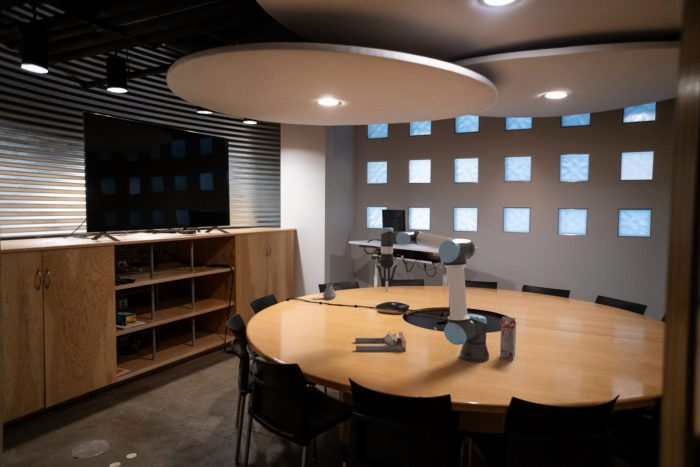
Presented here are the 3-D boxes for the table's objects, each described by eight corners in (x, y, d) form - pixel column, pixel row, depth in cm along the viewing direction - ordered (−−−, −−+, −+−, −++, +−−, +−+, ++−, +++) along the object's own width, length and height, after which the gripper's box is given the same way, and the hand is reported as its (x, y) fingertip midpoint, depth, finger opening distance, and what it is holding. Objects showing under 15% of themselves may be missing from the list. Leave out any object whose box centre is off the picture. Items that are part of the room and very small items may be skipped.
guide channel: (405, 351, 247) (405, 340, 247) (355, 351, 247) (355, 340, 246) (401, 341, 264) (402, 332, 263) (355, 341, 264) (355, 332, 263)
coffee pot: (320, 299, 384) (320, 282, 383) (327, 296, 394) (327, 280, 393) (342, 301, 374) (342, 284, 373) (348, 299, 384) (348, 282, 383)
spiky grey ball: (390, 353, 254) (383, 342, 249) (384, 344, 261) (378, 333, 256) (403, 345, 255) (397, 334, 250) (397, 336, 262) (391, 325, 257)
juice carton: (513, 360, 233) (514, 319, 232) (500, 358, 237) (501, 317, 235) (515, 356, 239) (516, 316, 238) (502, 354, 242) (503, 315, 241)
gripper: (396, 252, 270) (396, 290, 271) (375, 252, 270) (375, 290, 271) (398, 253, 262) (397, 293, 264) (376, 253, 262) (376, 292, 264)
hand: (386, 291), depth 267 cm, fingers closed
